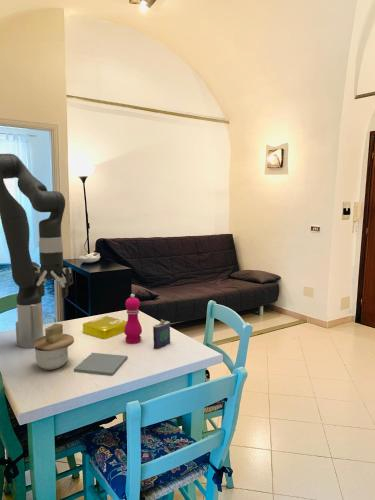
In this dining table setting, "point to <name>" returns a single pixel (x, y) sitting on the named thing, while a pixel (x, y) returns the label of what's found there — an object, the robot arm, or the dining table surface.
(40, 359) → the teacup
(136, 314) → the pepper mill
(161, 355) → the dining table surface
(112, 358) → the mat
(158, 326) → the flask
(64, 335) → the lid
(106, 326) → the element tile
